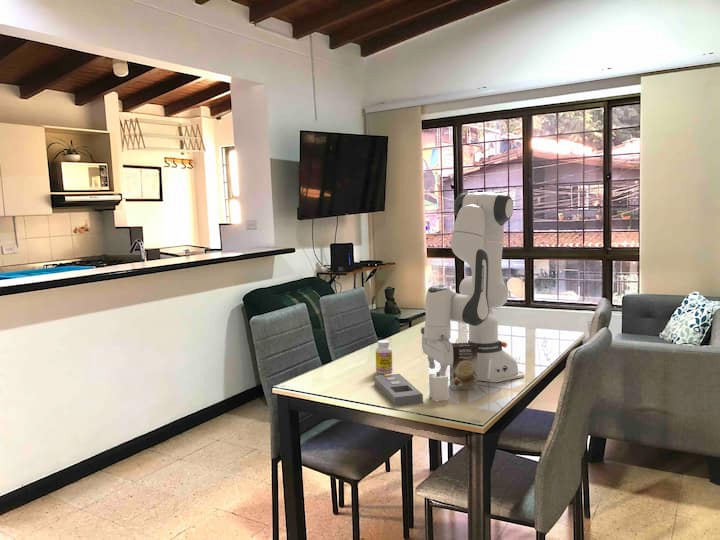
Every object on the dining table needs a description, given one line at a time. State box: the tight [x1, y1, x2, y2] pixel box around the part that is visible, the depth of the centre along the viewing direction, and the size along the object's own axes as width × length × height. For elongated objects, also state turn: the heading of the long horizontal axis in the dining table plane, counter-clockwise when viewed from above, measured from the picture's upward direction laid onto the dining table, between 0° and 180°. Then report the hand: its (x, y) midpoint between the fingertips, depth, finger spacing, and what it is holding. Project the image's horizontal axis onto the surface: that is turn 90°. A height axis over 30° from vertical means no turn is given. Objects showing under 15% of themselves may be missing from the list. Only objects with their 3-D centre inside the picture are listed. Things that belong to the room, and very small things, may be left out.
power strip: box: [373, 373, 424, 407], centre depth 207 cm, size 10×26×4 cm, turn 14°
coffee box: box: [449, 342, 478, 391], centre depth 210 cm, size 9×6×16 cm
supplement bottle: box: [375, 339, 393, 375], centre depth 233 cm, size 7×7×13 cm
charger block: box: [428, 371, 449, 402], centre depth 199 cm, size 5×5×9 cm
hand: (437, 371), depth 198 cm, fingers open, 8 cm apart
